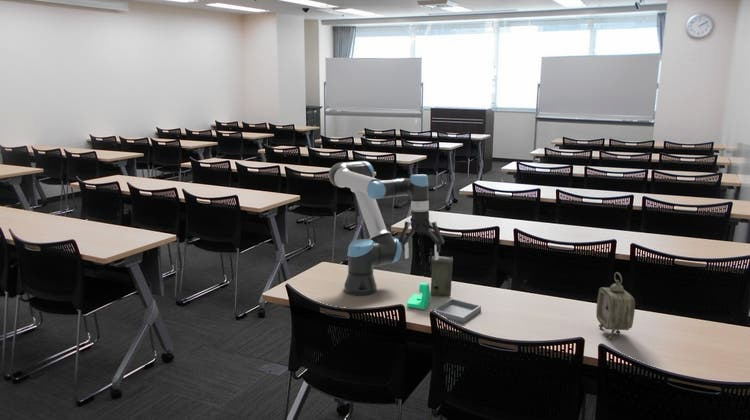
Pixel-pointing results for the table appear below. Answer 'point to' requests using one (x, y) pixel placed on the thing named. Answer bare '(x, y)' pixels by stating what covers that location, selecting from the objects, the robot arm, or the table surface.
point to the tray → (458, 310)
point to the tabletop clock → (615, 308)
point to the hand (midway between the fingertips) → (421, 258)
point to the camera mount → (420, 297)
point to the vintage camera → (441, 276)
